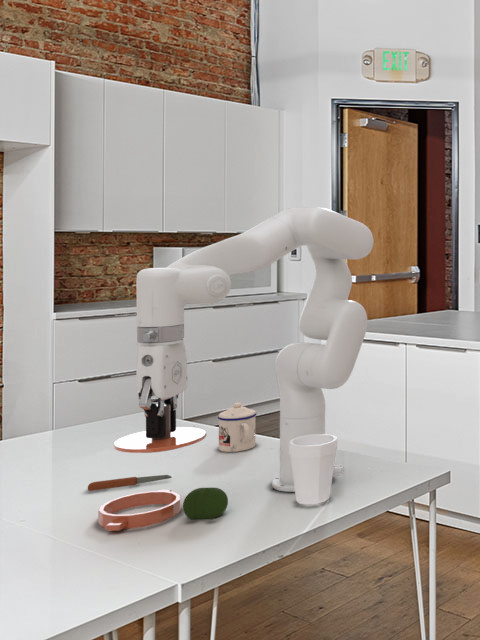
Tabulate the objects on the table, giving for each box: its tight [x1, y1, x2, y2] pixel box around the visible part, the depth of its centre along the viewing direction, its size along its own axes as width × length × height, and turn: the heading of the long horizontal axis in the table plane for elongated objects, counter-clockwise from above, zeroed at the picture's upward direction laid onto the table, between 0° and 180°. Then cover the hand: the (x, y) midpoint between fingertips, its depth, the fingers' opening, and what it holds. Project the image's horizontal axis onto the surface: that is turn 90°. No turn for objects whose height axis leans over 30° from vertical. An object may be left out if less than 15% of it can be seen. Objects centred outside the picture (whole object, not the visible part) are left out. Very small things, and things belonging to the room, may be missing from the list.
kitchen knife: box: [87, 474, 172, 491], centre depth 162 cm, size 16×1×2 cm, turn 118°
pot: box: [97, 489, 182, 532], centre depth 145 cm, size 14×19×3 cm
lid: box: [113, 403, 207, 454], centre depth 135 cm, size 15×15×7 cm
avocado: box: [182, 487, 229, 521], centre depth 144 cm, size 8×6×6 cm
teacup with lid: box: [217, 402, 257, 453], centre depth 192 cm, size 12×9×12 cm
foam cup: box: [289, 433, 338, 506], centre depth 154 cm, size 10×9×13 cm
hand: (161, 433), depth 135 cm, fingers closed on lid, 3 cm apart
